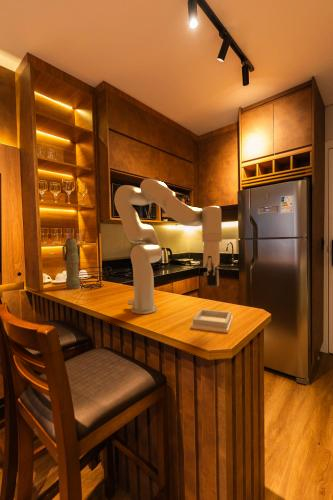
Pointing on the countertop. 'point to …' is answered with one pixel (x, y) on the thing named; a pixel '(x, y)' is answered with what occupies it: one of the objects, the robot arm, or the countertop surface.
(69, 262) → the thermos
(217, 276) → the connector plug
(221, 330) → the tray
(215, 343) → the countertop surface
